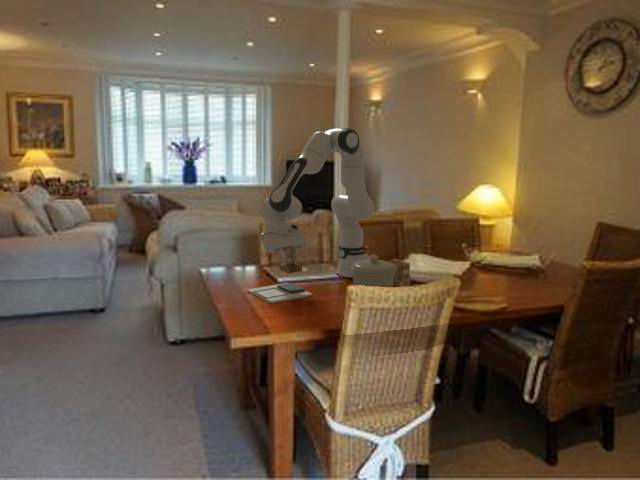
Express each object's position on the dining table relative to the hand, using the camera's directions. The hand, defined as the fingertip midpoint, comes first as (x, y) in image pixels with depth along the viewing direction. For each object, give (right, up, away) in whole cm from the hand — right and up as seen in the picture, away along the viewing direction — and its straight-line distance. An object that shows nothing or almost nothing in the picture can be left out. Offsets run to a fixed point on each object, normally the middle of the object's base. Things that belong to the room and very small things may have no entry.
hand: (291, 257), depth 226 cm
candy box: (+46, -17, 0) cm, 49 cm away
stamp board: (-5, -16, 0) cm, 16 cm away
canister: (+33, -19, -15) cm, 41 cm away
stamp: (0, -6, +2) cm, 6 cm away
